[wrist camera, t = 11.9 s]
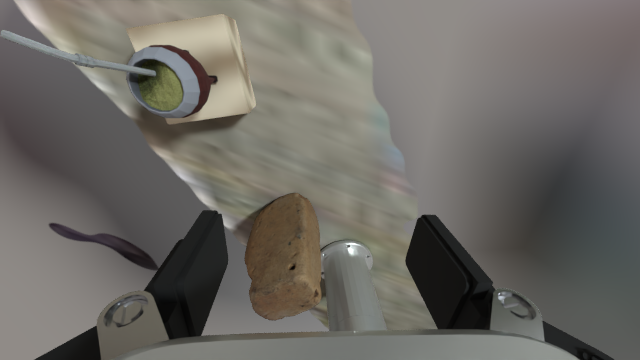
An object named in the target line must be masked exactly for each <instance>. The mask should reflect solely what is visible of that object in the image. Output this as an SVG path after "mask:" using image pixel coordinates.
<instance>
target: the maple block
mask: <svg viewBox="0 0 640 360" xmlns="http://www.w3.org/2000/svg"><path fill="white" fill-rule="evenodd" d="M126 30H127V33H128V35H129V37H130V39H131V42H132V44H133V46H134V49H135V51H136V52H138V51H140V50H141V49H143V48H145V47H148V46H150V45H172V46H175V47H177V48H179V49H182V50H187V51H189V53H190V54H191V55H192V56H193V57H194V58H195V59H196V60H197V61H198V62H200V63H201V65H202V66H203V68H204V69H205V71H206V72H207V74H208V75H214V76H217V78H218V82H217V83H212V84H211V89H210V93H209V97H208V101H207V102H206V103H205V105H204V106H203V107H202V109H201V110H200V111H199V112H197V113H195V114H193V115H190V116H188V117H185V118H165V119H166V121H167V124H168V125H171V124H178V123H184V122H191V121H198V120H205V119H211V118H218V117H225V116H232V115H239V114H245V113H250V111H251V110H252V109H253V108H254V107H255V106H256V101H255V97H254V93H253V89H252V85H251V81H250V77H249V73H248V69H247V65H246V61H245V57H244V53H243V49H242V45H241V41H240V37H239V33H238V29H237V25H236V21H235V20H234V19H232V18H230V17H228V16H225V15H223V14H220V15H213V16H206V17H200V18H193V19H186V20H180V21H173V22H166V23H160V24H153V25H147V26H140V27H133V28H127V29H126Z"/></svg>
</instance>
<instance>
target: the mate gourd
mask: <svg viewBox="0 0 640 360" xmlns="http://www.w3.org/2000/svg"><path fill="white" fill-rule="evenodd" d="M1 37H2V38H4V39H7V40H9V41H12V42H15V43H17V44H20V45H23V46H26V47H29V48H32V49H34V50H37V51H40V52H43V53H45V54H48V55H51V56H55V57H58V58H61V59H64V60H67V61H70V62H74V63H75V64H76V65H80V66H85V67H90V68H94V67H100V68H107V69H113V70H119V71H125V72H127V76H126V80H127V83H128V85H129V88H130V91H131V93H132V94H133V96H134V97H135V98H136V100H137V101H138V102H139V104H141V105H142V106H143V107H145V108H146V109H147V110H149V111H150V112H151V113H153V114H156V115H159V116H161V117H164V118H185V117H188V116H190V115H193V114H195V113H197V112H199V111H200V110H201V109H202V107H203V106H204V105H205V103H206V102H207V101H208V97H209V93H210V89H211V84H212V83H217V82H218V78H217V76H214V75H208V74H207V72H206V71H205V69H204V68H203V66H202V65H201V63H200V62H198V61H197V60H196V59H195V58H194V57H193V56H192V55H191V54H190V53H189V51H187V50H182V49H179V48H177V47H175V46H172V45H150V46H148V47H145V48H143V49H141V50H140V51H138V52H136V53H134V54H133V56H132V58H131V59H130V61H129V63H128V64H127V65H123V64H118V63H113V62H107V61H102V60H97V59H94V58H93V57H90V56H85V55H81V54H77V53H76V54H75V55H74V54H70V53H67V52H64V51H61V50H58V49H54V48H52V47H49V46H46V45H43V44H41V43H38V42H35V41H33V40H30V39H27V38H24V37H22V36H19V35H17V34H14V33H11V32H9V31H6V30H2V31H1Z"/></svg>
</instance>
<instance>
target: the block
mask: <svg viewBox="0 0 640 360" xmlns="http://www.w3.org/2000/svg"><path fill="white" fill-rule="evenodd" d="M319 242H320V233H319V224H318V220H317V217H316V214H315V211H314V209H313V207H312V205H311V203H310V201H309V200H308V199H307V198H304V197H303V196H301V195H300V194H298V193H291V194H288V195H285V196H282V197H280V198H278V199H276V200H275V201H274V202H273V203H272V204H269V205H268V206H267V207H265V208H264V209H263V210H262V211H261V212H260V214H259V215H258V216H257V217H256V219H255V222H254V224H253V227H252V230H251V233H250V237H249V240H248V244H247V248H246V252H245V264H246V265H247V270H248V275H249V276H250V278H251V279H252V283H251V287H250V290H249V295H250V300H251V303H252V307H253V309H254V311H255V312H256V313H257V314H258V315H260V316H262V317H264V318H265V319H268V320H277V319H282V318H284V317H287V316H295V315H297V314H299V313H302V312H304V311H307V310H309V309H311V308H312V307H314V306H316V305H317V304H319V302H320V300H321V288H320V282H321V252H320V244H319Z"/></svg>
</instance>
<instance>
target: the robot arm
mask: <svg viewBox="0 0 640 360" xmlns="http://www.w3.org/2000/svg"><path fill="white" fill-rule="evenodd" d="M227 264H228V253H227V246H226V239H225V233H224V225H223V218H222V214H218V212H217V211H212V210H204V211H202V213H201V214H200V215H199V217H198V218H197V220H196V221H195V223H194V224H193V226H192V227H191V229H190V230H189V232H188V234H187V235H186V236H185V238H184V239H181V240H179V241H178V242H177V243H176V245H175V246H174V248H173V250H172V251H171V252H170V254H169V255H168V256H167V258H166V259H165V261H164V262H163V264H162V265H161V267H160V268H159V269H158V271H157V272H156V274H155V275H154V277H153V278H152V280H151V281H150V282H149V284H148V286H147V287H146V288H145V290H144V291H135V292H130V293H128V294H125V295H122V296H121V297H119V298H117V299H115V300H114V301H113V302H111V303H110V304H109V305H107V306H106V307H105V309H104V310H103V311H102V312H101V313H100V316H99V317H98V319H97V326H95V327H93V328H91V329H89V330H88V331H86V332H84V333H82V334H80V335H78V336H77V337H75V338H73V339H71V340H70V341H68V342H66V343H64V344H62V345H61V346H58V347H57V348H55V349H53V350H51V351H50V352H48V353H46V354H44V355H42V356H40V357H38V358H37V359H35V360H614V359H613V358H611V357H609V356H608V355H606V354H604V353H603V352H601V351H599V350H597V349H595V348H593V347H591V346H590V345H587V344H586V343H584V342H582V341H580V340H578V339H576V338H574V337H573V336H571V335H569V334H567V333H565V332H563V331H561V330H559V329H557V328H556V327H554V326H552V325H550V324H548V323H546V322H544V321H542V316H541V314H540V311H539V310H538V308H537V307H536V306H535V305H534V304H533V303H532V302H531V301H530V300H529V299H528V298H526V297H525V296H523V295H522V294H520V293H518V292H516V291H513V290H510V289H506V288H498V289H496V290H495V289H494V287H493V286H492V284H493V282H492V281H491V279H490V278H489V277H488V276H487V275H486V274H485V272H484V271H483V270H482V269H481V268H480V266H479V265H478V264H477V263H476V262H475V261H474V260H473V258H472V257H471V256H470V255H469V254H468V252H467V251H466V250H465V249H464V248H463V247H462V245H461V244H460V243H459V242H458V241H457V239H456V238H455V237H454V236H453V235H452V234H451V233H450V231H449V230H448V229H447V228H446V227H445V225H444V224H443V223H442V222H441V221H440V219H439V218H438V217H437V216H436V215H422V216H421V218H418V220H417V223H416V226H415V229H414V233H413V236H412V239H411V242H410V246H409V249H408V252H407V256H406V266H407V268H408V270H409V272H410V274H411V276H412V278H413V280H414V282H415V284H416V286H417V288H418V290H419V292H420V294H421V296H422V298H423V300H424V302H425V304H426V306H427V308H428V310H429V312H430V314H431V316H432V318H433V320H434V322H435V324H436V326H437V328H438V329H429V330H387V327H386V324H385V321H384V318H383V314H382V311H381V308H380V305H379V301H378V298H377V295H376V292H375V289H374V285H373V282H372V279H371V276H370V272H369V271H370V269H371V267H372V264H373V259H372V255H371V252H370V251H369V249H368V248H367V247H366V246H365V245H363V244H362V243H359V242H356V241H351V240H343V241H338V242H334V243H332V244H330V245H328V246H326V247H325V248H324V249H322V250H321V277H322V278H323V279H324V280H325V290H326V301H327V311H328V321H329V331H328V332H291V333H255V334H230V335H211V336H210V335H208V336H201V334H202V332H203V329H204V326H205V324H206V321H207V318H208V316H209V313H210V310H211V308H212V305H213V302H214V300H215V297H216V294H217V292H218V289H219V286H220V283H221V281H222V278H223V275H224V273H225V270H226V267H227Z"/></svg>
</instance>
